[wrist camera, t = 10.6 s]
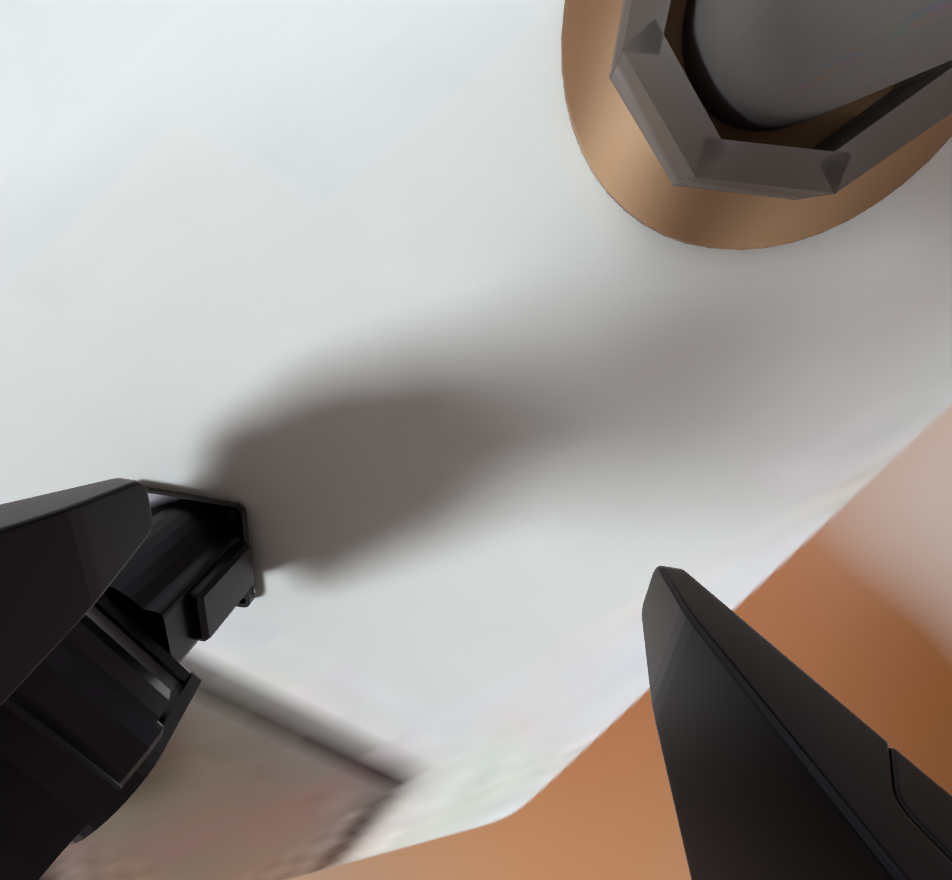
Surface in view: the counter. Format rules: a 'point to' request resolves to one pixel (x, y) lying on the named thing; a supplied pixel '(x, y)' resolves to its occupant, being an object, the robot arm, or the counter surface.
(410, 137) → the counter surface
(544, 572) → the counter surface
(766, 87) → the bottle
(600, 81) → the ring coaster
